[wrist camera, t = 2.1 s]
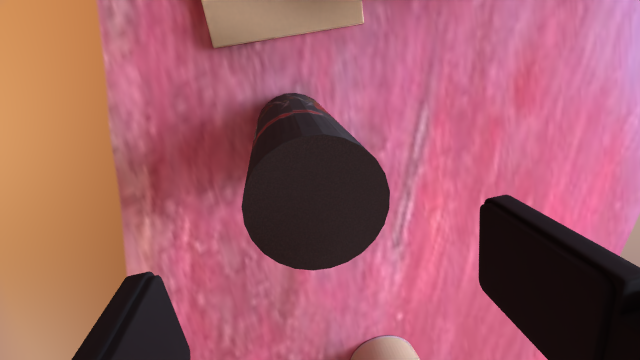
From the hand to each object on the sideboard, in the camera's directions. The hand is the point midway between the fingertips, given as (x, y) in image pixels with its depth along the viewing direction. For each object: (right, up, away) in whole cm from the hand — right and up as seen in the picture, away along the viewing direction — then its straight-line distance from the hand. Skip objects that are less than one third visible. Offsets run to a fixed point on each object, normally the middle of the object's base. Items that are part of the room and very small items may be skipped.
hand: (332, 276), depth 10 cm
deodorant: (-3, +7, +18) cm, 19 cm away
